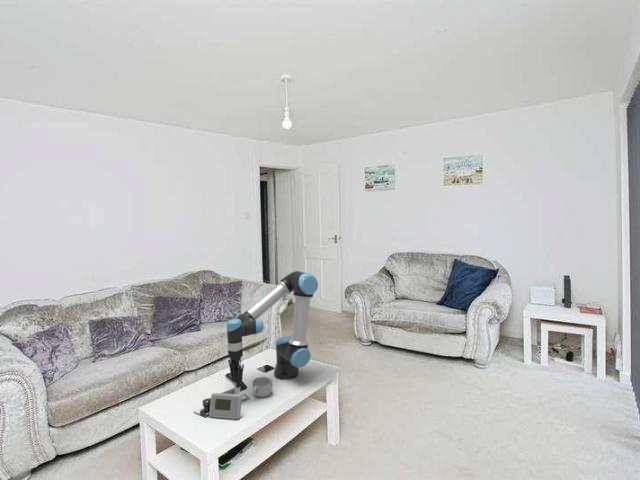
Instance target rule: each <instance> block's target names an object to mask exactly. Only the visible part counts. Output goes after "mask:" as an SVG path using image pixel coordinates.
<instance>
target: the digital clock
mask: <svg viewBox="0 0 640 480" xmlns="http://www.w3.org/2000/svg"><path fill="white" fill-rule="evenodd" d="M241 395H242V394H226V393H223V392H219V393H218V392H213V393H211V397H210V398H211V403H210V412H209V416H208V417H210V418H216V419H225V420H240V417H241V409H242V402H241V401H242V396H241Z"/></svg>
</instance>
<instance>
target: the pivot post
mask: <svg viewBox="0 0 640 480" xmlns="http://www.w3.org/2000/svg"><path fill="white" fill-rule="evenodd" d="M209 412H210V406H206V407H205V406H203V409H201V410H200V411H199V415H200V416H201V417H204V416H206V417H210V416H209Z"/></svg>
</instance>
